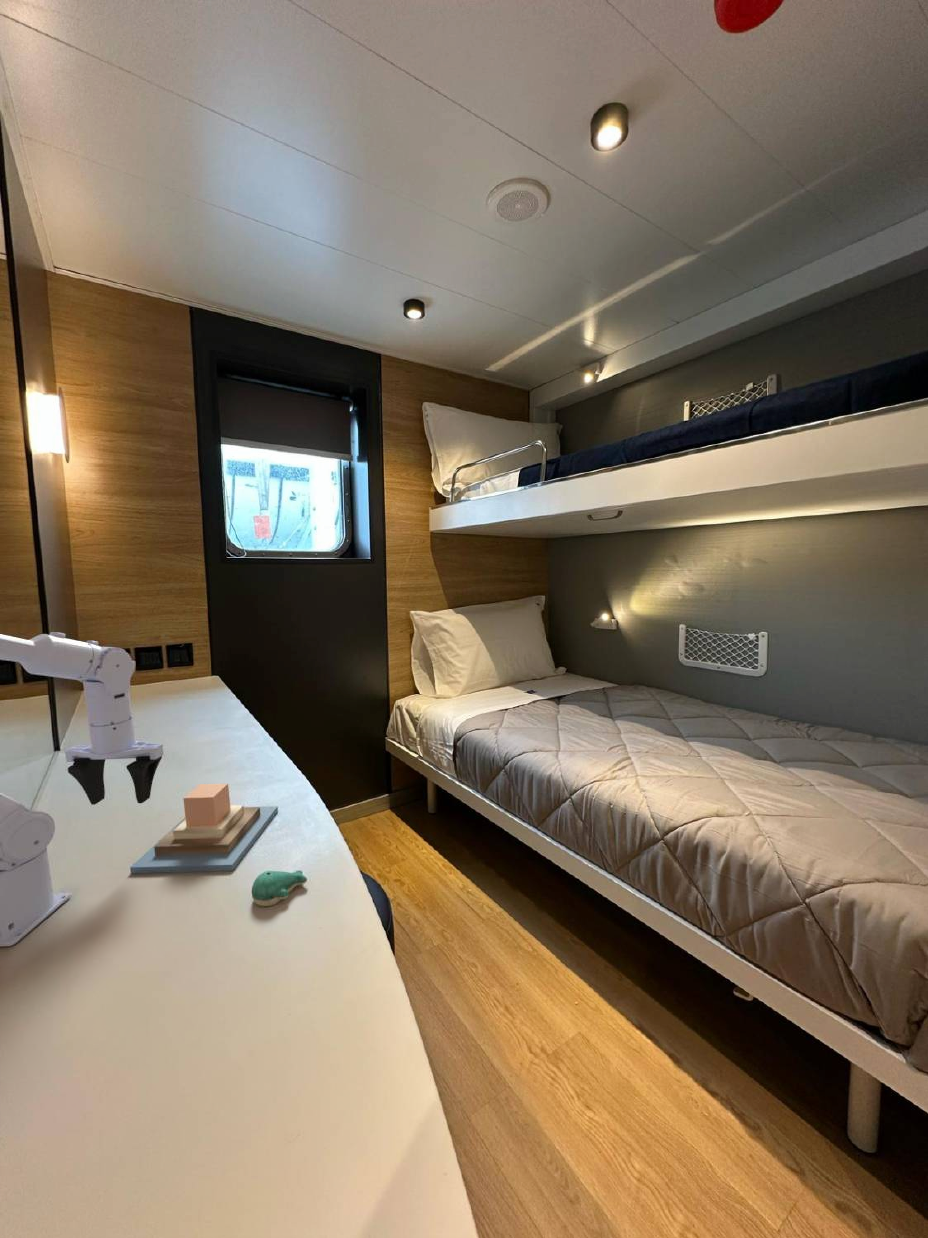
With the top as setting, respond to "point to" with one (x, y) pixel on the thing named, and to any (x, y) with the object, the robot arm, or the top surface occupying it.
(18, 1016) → the top surface
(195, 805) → the terracotta block
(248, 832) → the plinth board
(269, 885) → the whale figurine
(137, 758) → the robot arm
